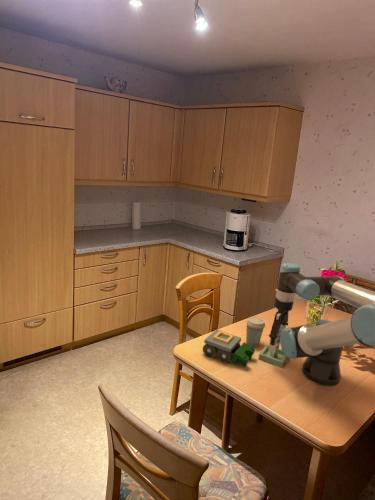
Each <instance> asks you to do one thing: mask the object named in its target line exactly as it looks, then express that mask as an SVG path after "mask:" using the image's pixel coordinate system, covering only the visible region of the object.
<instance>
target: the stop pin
mask: <svg viewBox="0 0 375 500" xmlns="http://www.w3.org/2000/svg"><path fill="white" fill-rule="evenodd" d="M281 332H282V331H280V330H279V332H278V335H277V343H276V349H275V352H272V351H271V353H270V357H272V358H275V359H277V357H278V351H279V349H280V347H281V344H280V335H281Z"/></svg>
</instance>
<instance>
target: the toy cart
mask: <svg viewBox="0 0 375 500" xmlns="http://www.w3.org/2000/svg"><path fill="white" fill-rule="evenodd" d="M241 341H242V337H240V336H237V335H234V334H231V333H229V332H225V331H223V330H220V329H215V330H214V331H213V332H212V333H210V334H209V335H208V336H207V337H206V338H204V341H203V343H204V345H203V346H202V352H203V354H204V355H205V356H206V357H208V358H213V357H215V356H216V355H217V358H218V360H219V361H220V362H222V363H223V364H228V363H229V362H230V361H231V359H232V357H233V355H234V353H235V352H236V351H237V349H238V348H239V347H240V346H241V344H240V343H241Z"/></svg>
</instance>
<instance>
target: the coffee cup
mask: <svg viewBox="0 0 375 500" xmlns="http://www.w3.org/2000/svg"><path fill="white" fill-rule="evenodd" d="M265 327H266V323H265V320H264V319H263V318H260V317H258V316H250V317H248V319H247V320H246V333H245V334H246V335H245V336H246V337H245V338H246V339H245V343H246V344H248V345H249V346H251V347H253V348H255V347H256V348H257V347H259V345H260V342H261V339H262V335H263V332H264V328H265Z"/></svg>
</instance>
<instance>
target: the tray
mask: <svg viewBox="0 0 375 500" xmlns="http://www.w3.org/2000/svg"><path fill="white" fill-rule="evenodd" d="M268 348H269V344H266V345H265V346H264V347H263V348H262V350H261V351H260V353H259V355H258V360H260V361H263V362H265V363H268V364H270V365H274V366H276V367H279V368H283V367H284V365H285V363H286V362H287V360H288V359H289V358H287V357H286V356H285V355H284V353H283V351H282V348H279V351H278V357H277V359H275V358H272V357H270V353H271V351H269V350H268Z"/></svg>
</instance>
